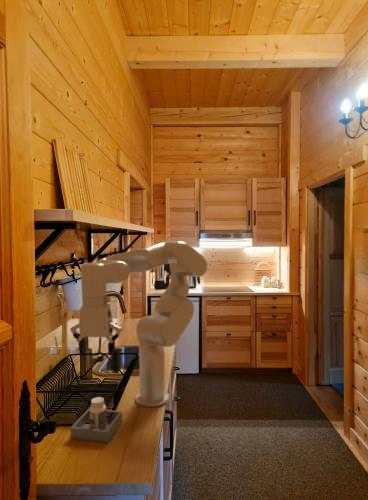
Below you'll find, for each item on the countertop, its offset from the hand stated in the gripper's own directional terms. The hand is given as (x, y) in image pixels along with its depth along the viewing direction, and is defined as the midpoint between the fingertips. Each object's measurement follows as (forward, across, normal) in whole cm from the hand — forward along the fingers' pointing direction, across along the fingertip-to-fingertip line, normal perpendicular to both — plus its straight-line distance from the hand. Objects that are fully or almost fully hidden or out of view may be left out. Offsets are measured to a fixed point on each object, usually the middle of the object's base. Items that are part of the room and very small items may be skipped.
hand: (97, 353), depth 111 cm
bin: (+24, 0, +3) cm, 24 cm away
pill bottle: (+23, 0, +3) cm, 24 cm away
